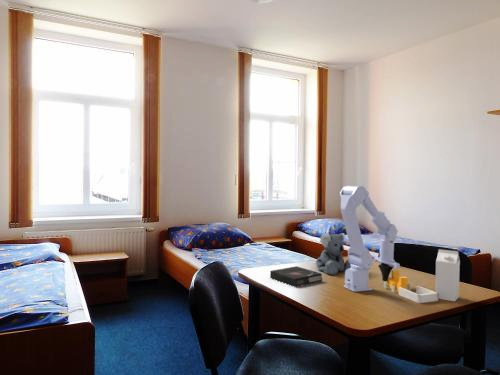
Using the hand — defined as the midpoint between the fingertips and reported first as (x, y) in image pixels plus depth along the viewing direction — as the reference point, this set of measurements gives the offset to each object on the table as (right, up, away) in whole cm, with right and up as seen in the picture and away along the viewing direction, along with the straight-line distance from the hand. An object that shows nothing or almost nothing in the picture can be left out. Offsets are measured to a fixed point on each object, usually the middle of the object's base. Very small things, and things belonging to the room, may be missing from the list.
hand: (385, 280), depth 168 cm
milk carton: (+18, -3, -17) cm, 25 cm away
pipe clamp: (+3, -2, -6) cm, 7 cm away
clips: (+3, -2, -9) cm, 10 cm away
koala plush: (-18, -1, +25) cm, 31 cm away
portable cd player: (-39, -2, +6) cm, 39 cm away
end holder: (+7, -2, -17) cm, 19 cm away
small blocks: (+2, -2, -4) cm, 5 cm away
